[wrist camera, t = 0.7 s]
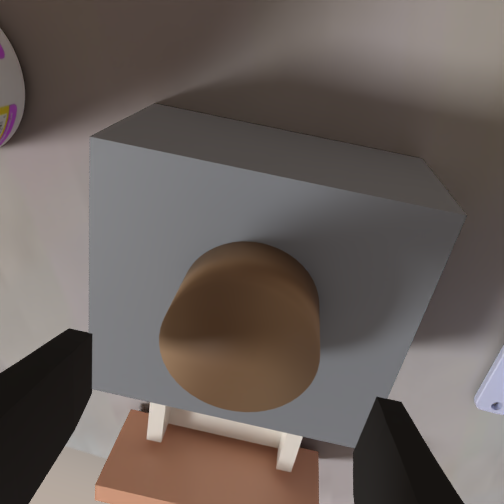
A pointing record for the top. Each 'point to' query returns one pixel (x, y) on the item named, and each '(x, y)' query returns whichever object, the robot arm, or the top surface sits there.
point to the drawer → (205, 462)
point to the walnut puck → (243, 328)
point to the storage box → (267, 232)
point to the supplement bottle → (10, 90)
